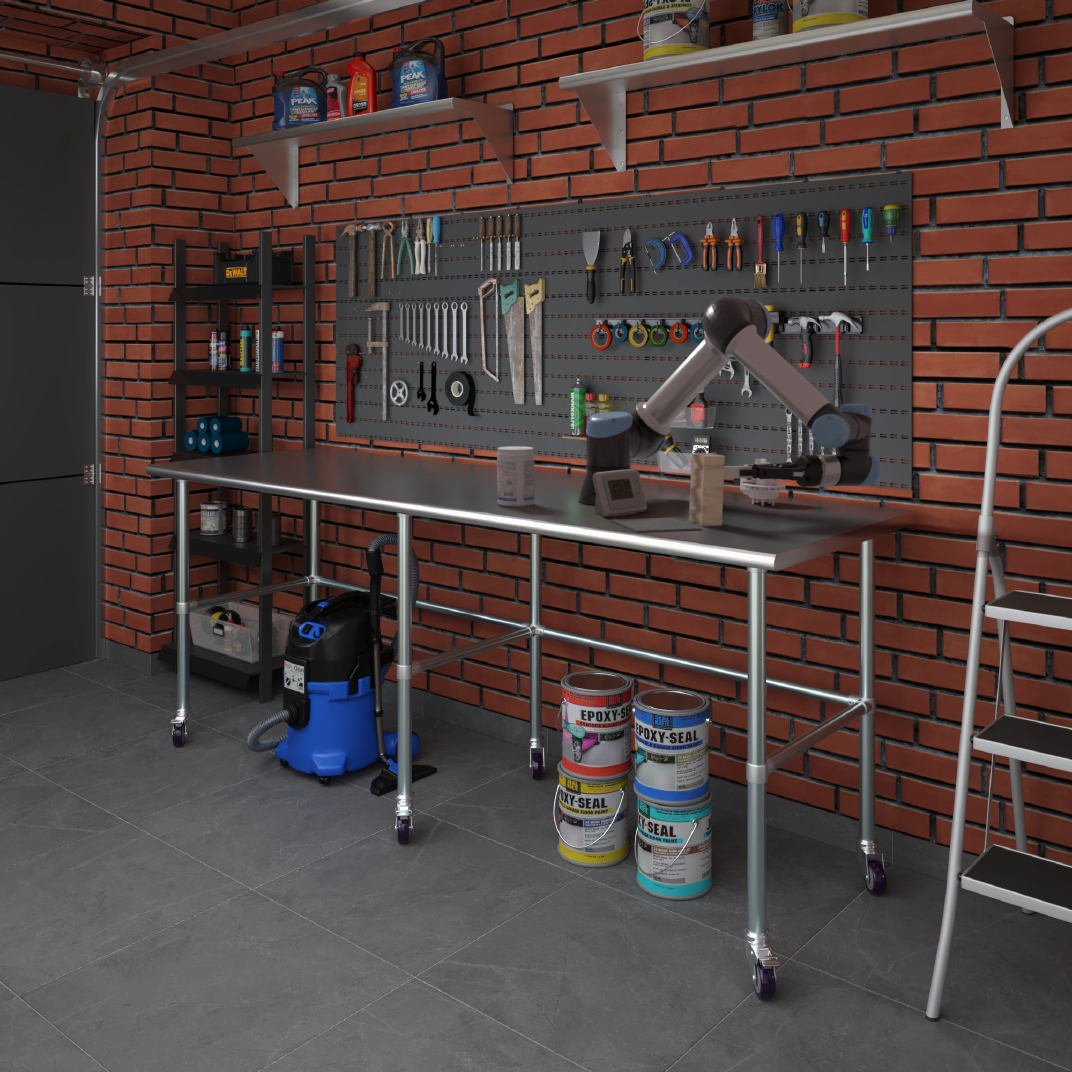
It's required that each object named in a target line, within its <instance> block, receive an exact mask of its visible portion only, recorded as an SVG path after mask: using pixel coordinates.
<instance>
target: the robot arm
mask: <svg viewBox="0 0 1072 1072" xmlns="http://www.w3.org/2000/svg"><path fill="white" fill-rule="evenodd" d="M702 327H703V332H704V339H703V340H702V341H701V342H700V343H699V344H698V345H697V346H696V347H695V348H694V349H693V351H692V352H691V353H690V354H689V355H688V356H687V357H686V359H684V361H682V363H681V364H680V365H679V366H678V367H677V368H676V369H675V370H674V371H673V373H671V375H670V376H669V377H668V378H667V379H666V380H665V382H663V384H662V385H661V386H660V387H659V388H658V389H657V391H656V392H654V393H653V395H652V396H651V397H650V398H649V399H648V400H647V401H640V402H638V403H637V404H636V405H635V406H634V407H633V408H632V409H631V410H630V411H629V412H627V411H607V412H598V413H594V414H591V415H589V417H588V419H587V423H586V424H587V425H586V429H585V431H586V432H585V433H586V446H585V447H586V448H585V449H586V455H585V457H586V459H585V462H586V463H585V474H584V478H583V480H582V483H581V486H580V490H579V493H578V502H579V503H581V504H585V505H593V506H595V501H596V496H597V495H596V491H595V487H594V483H593V475H594V474H595V473H597V472H604V471H613V470H623V469H626V470H627V469H631V460H632V461H633V460H643V459H647V458H650V457H652V456H654V455H657V454H658V453H659V452H660V451H661V450H662V448H663V447H664V445H665V444H666V440H667V436H668V435H669V434H670V432H671V424H672V422H673V421H675V419H676V418H677V417H678V416H679V415H680V414H681V413H682V412H683V411H684V410H685V409H686V408H687V407H688V406H689V405H690V404H691V402H692V401H694V399H695V398H696V397H697V396H698V395H699V394H700V393H701V392H702V391H703V389H705V387H707V385H708V384H710V382H711V381H712V380H713V379H714V378H715V377H716V376H717V375H719V373H720V372H721V370H723V368H725V366H726V365H727V364H728V363H729V362H739V364H741V366H742V367H743V368H745V370H747V371H748V372H749V373H750V374H751V375H752V376H753V377H754V378H755V380H757V381H758V383H759V382H760V384H761V385H763V386H764V387H765V388H766V389H767V390H768V392H769V393H771V394H772V395H773V397H775V398H776V399H777V400H778V401H779V402H780V403H781V404H782V405H783V406H784V407H786V409H788V410H789V411H790V412H791V413H792V414H793V416H795V417H796V418H797V419H798V420H800V421H801V423H802V424H803V425H805V427H807V428H808V429H809V431H810V432H811V436H812V439H813V441H814V442H815V444H817V445H818V446H820V447H822V448H826V449H836V454H828V453H827V454H803V455H799V456H798V458H797V459H796V460H795V463H794V462H792V461H785V462H783V463H781V462H780V463H779V462H778V463H777V462H774V463H773V462H772V463H770V464H759V465H757V464H755V463H752V464H748V465H747V464H746V465H747V466H744V465H727V466H726V465H724V480H725V479H727V480H728V479H731V480H732V479H733V480H734V479H741V478H747V480H751V478H752V477H753V478H755V479H756V478H759V479H781V480H785V481H794V482H795V481H796V483H797V485H798V486H800V487H801V488H815V487H823V489H825V490H828V488H829V487H861V486H871V485H873V484H874V483H876V481H877V480H878V478H879V477H880V473H881V466H880V465H879V463H880V461H879V459H878V458H877V456H876V455H875V454H873V453H871V451H870V450H871V437H872V436H871V435H872V427H873V426H872V425H873V421H874V419H873V407H872V406H871V405H869V404H866V403H865V404H864V403H842V404H841V405H839V409H838V408H837V407H836V406H835V405H833V404H832V402H830V400H828V399H827V397H825V396H824V395H823V394H822V393H821V392H820V391H819V390H818V389H817V388H816V387H814V386H813V384H811V382H809V381H808V380H807V379H806V378H805V377H804V376H803V375H802V374H801V373H800V372H799V371H798V370H796V368H795V367H793V366H792V365H791V364H790V363H789V362H788V361H787V360H786V359H785V358H784V357H783V356H781V355H780V354H779V352H777V350H775V349H774V348H773V347H772V346H771V345H769V343H768V342H767V341H766V340H767V338H768V337H769V335H770V333H771V330H772V317H771V313H770V311H769V309H768V308H767V307H766V306H765V305H764V304H763V303H762V302H760V301H758V300H755V299H753V298H750V297H749V298H748V297H746V298H741V297H734V296H731V295H729V296H722V297H719V298H717V299H715V300H713V301H712V302H711V303H710V304H709V305H708V306H707V308H706V309H705V311H704V313H703V317H702Z"/></svg>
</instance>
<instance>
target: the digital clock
mask: <svg viewBox="0 0 1072 1072" xmlns="http://www.w3.org/2000/svg"><path fill="white" fill-rule="evenodd" d="M593 483H594V487H595V491H596V495H597V496H596V501H595V505H594V506H595V508H594V514H595V515H600V516H602V517H604V518H610V517H614V518H615V517H621V516H623V517H624V516H629V515H636V514H638V513H642V512H646V511H647V509H648V504H647V499H646V495H645V492H644V487H643V484H642V480H641V476H640V472H639V470H638V469H635V468H630V469H627V470H626V469H623V470H613V471H604V472H597V473H595V474H594V475H593Z"/></svg>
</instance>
